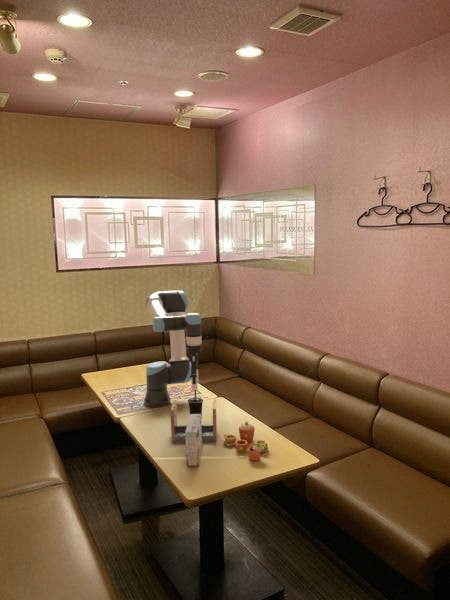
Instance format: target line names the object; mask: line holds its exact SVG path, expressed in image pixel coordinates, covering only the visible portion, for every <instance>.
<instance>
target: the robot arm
mask: <svg viewBox="0 0 450 600" xmlns="http://www.w3.org/2000/svg"><path fill="white" fill-rule="evenodd" d="M145 308H146V310H147V312H148V313H150V315H151V316H152V328H153V331H154V332H160V333H162V332H169V340H170V342H169V343H170V355H171V358H170V359H169V360H168V361H169V363H167V362H166V361H154V362H151V363H149V364H148V365H147V366H146V367H145V376H146V377H145V378H146V379H145V380H146V392H145V396H144V399H143V404H144V406H146V407H149V408H162V407H166V406H168V405H170V404H171V402H172V401H171V400H172V399H171V396H170V394H169V391H168V385H174V384H184V383H185V384H186V383H191V391H195V390H196V391H198V383H199V370H200V366H199V353H202V350H203V347H202V337H203V335H202V318H201V317H202V316H201V314H200V313H198V312H189V313H186V312H187V310H188V309H189V301H188V297H187V294H186V293H185V291H184V290H177V289H176V290H160V291H156V292H153V293H151V294H150V295H149V296H148V297H147V299H146V301H145ZM187 353H188V354H190V356H189V357H190V358H189V357H188V356H187Z"/></svg>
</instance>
